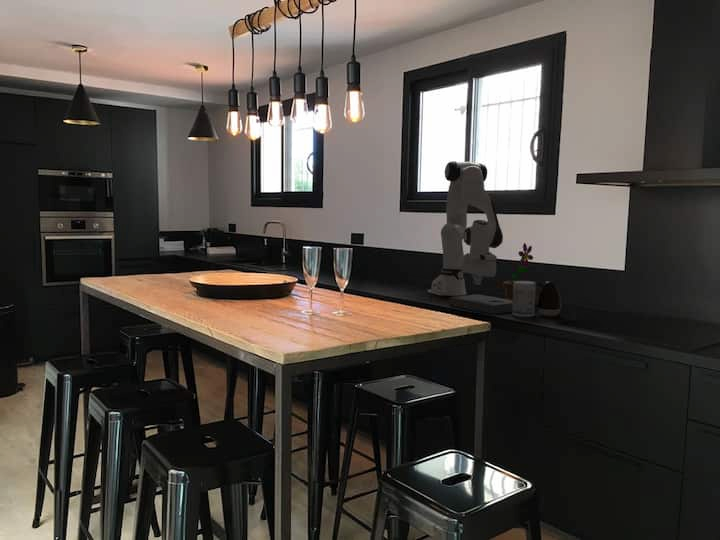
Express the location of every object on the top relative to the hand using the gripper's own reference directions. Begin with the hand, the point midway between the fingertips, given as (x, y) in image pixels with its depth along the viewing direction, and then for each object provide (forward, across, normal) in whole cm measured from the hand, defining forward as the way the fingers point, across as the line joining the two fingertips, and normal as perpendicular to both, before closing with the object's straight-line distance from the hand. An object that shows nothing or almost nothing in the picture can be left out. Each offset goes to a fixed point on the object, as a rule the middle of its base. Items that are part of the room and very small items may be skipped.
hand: (477, 284), depth 276 cm
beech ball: (+8, +12, +2) cm, 15 cm away
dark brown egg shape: (+10, +33, +12) cm, 36 cm away
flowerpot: (+10, +2, +25) cm, 27 cm away
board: (+11, +4, +2) cm, 12 cm away
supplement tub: (+10, +27, +3) cm, 29 cm away
